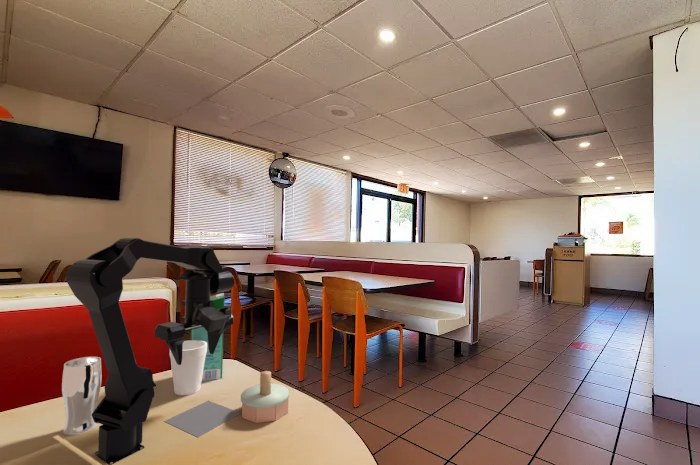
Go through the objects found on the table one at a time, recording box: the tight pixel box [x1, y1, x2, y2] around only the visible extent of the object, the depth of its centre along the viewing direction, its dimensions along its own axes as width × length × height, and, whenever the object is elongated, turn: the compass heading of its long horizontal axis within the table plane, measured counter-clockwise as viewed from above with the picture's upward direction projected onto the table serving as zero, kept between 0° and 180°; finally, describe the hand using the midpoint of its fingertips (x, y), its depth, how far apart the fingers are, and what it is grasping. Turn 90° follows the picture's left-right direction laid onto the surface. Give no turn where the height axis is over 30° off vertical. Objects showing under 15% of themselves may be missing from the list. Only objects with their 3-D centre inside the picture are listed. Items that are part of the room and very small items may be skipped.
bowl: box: [241, 398, 289, 424], centre depth 86 cm, size 11×11×4 cm
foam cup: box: [169, 339, 207, 396], centre depth 96 cm, size 10×9×13 cm
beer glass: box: [61, 356, 103, 436], centre depth 77 cm, size 7×7×15 cm
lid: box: [240, 370, 290, 408], centre depth 86 cm, size 12×12×6 cm
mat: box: [163, 400, 242, 438], centre depth 82 cm, size 12×12×1 cm
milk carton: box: [190, 292, 225, 382], centre depth 107 cm, size 9×9×25 cm
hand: (196, 358), depth 87 cm, fingers open, 9 cm apart
